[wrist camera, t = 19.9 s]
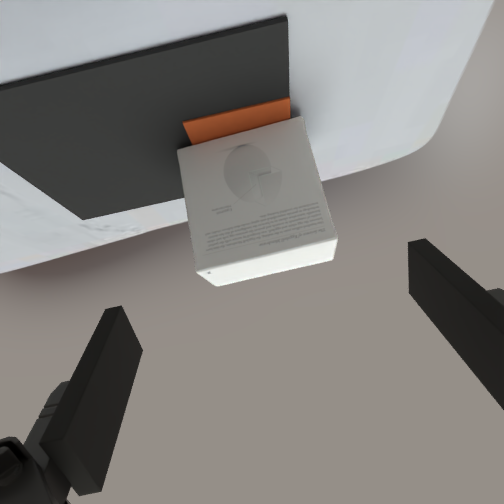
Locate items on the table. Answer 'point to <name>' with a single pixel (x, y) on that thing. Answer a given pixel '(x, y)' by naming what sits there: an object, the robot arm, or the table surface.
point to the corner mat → (141, 116)
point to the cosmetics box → (256, 203)
